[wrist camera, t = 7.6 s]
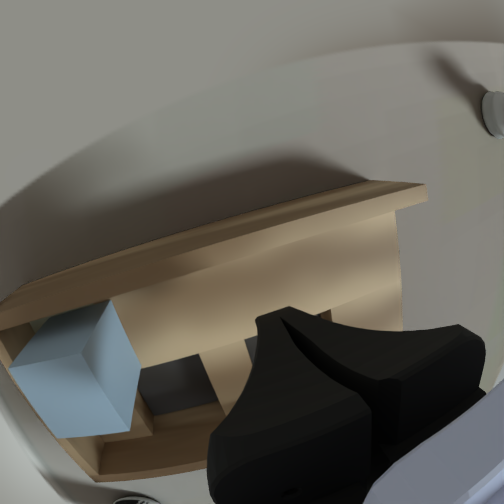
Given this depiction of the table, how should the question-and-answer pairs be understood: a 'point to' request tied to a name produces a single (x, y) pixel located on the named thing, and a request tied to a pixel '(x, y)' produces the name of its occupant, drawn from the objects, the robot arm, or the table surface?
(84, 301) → the board
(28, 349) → the blue block
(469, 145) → the table surface
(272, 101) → the table surface
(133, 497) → the beverage can
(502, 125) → the rook chess piece
